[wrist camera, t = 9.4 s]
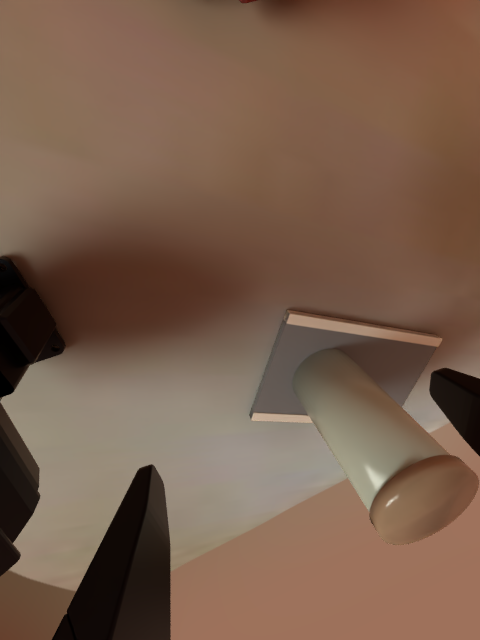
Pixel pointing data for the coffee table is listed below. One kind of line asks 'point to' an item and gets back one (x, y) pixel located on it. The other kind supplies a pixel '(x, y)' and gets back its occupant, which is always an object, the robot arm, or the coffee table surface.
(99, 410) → the coffee table surface
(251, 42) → the coffee table surface
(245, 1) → the toy fire truck
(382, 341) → the mat
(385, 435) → the canister
